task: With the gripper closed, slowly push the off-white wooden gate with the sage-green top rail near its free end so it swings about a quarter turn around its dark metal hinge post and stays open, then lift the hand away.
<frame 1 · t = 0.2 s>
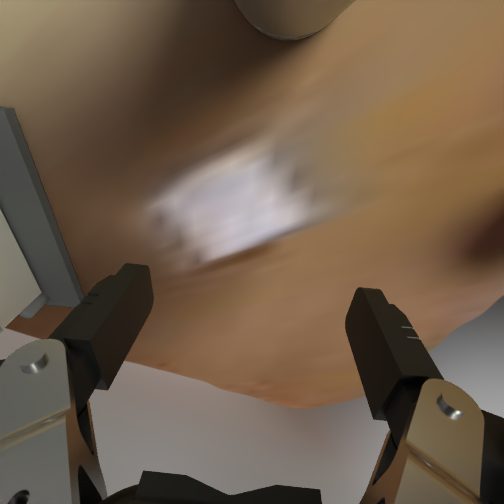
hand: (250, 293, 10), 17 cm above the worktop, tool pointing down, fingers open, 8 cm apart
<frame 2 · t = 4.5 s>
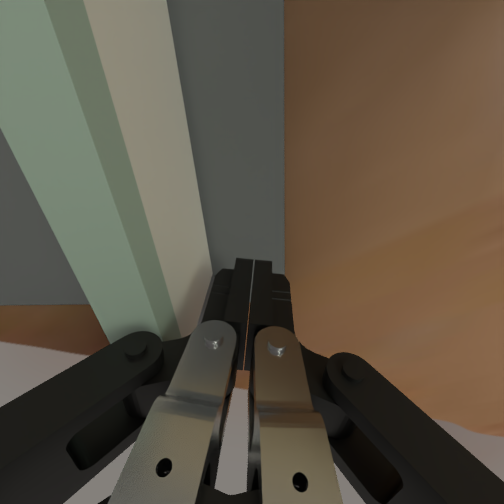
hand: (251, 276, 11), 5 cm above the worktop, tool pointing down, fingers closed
gate: (141, 164, 9), point 5 cm above the worktop, hinge at 0.4°, touching gripper
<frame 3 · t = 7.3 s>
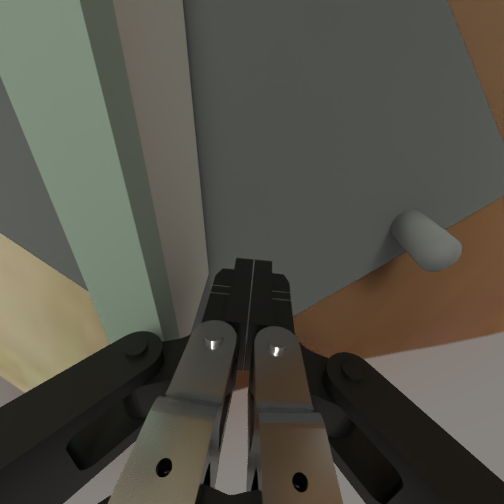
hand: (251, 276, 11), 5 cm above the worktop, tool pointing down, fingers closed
gate: (149, 161, 9), point 5 cm above the worktop, hinge at 42.3°, touching gripper
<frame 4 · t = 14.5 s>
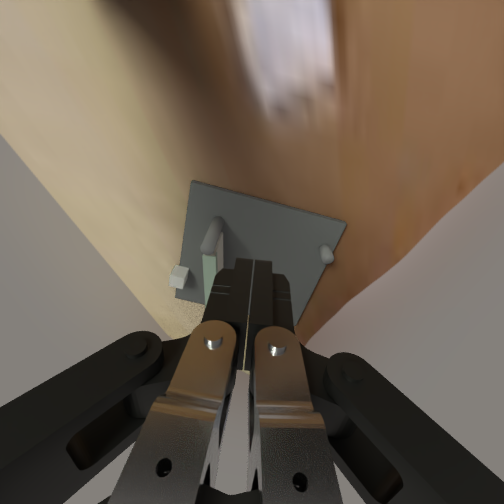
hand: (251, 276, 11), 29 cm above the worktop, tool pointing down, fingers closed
gate: (215, 282, 42), point 5 cm above the worktop, hinge at 78.2°
gate frame: (219, 218, 42), on the worktop
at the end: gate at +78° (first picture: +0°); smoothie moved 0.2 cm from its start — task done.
